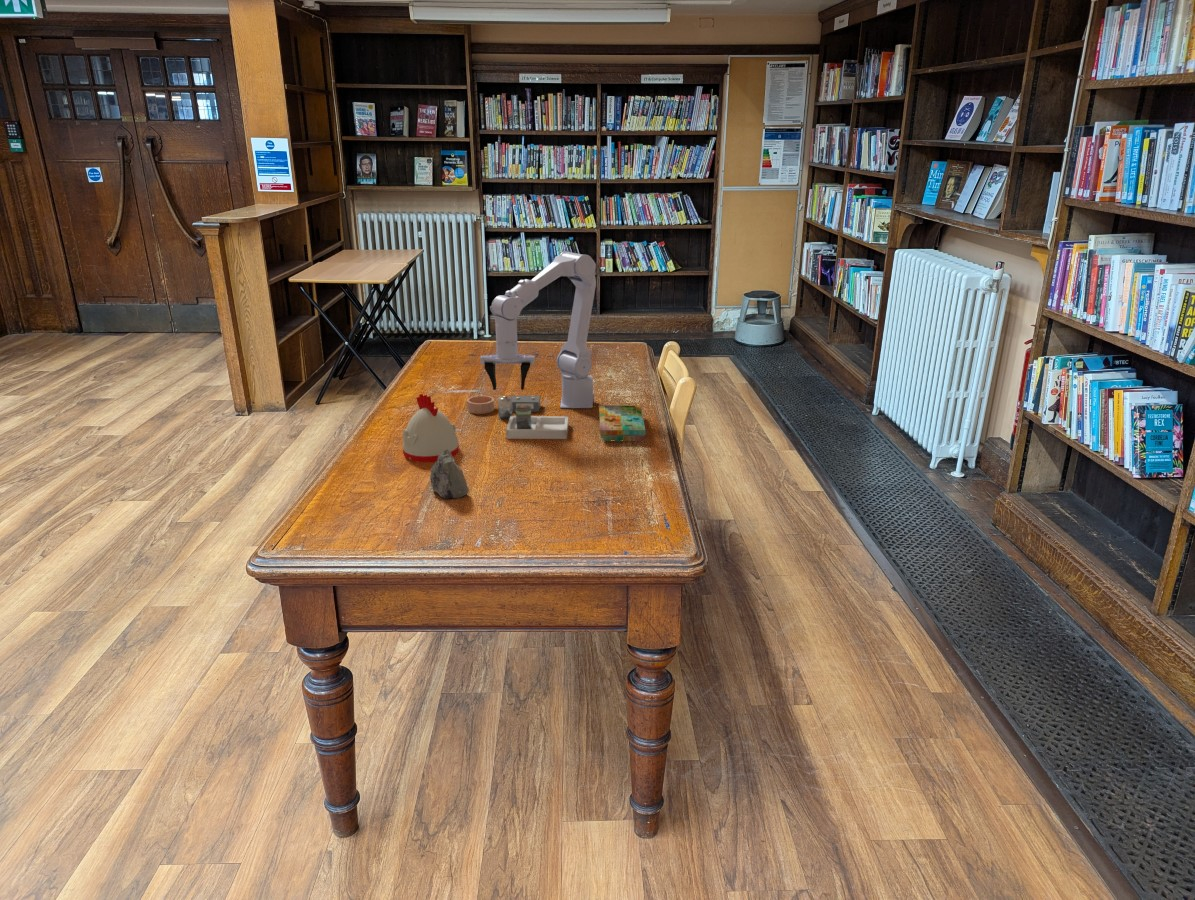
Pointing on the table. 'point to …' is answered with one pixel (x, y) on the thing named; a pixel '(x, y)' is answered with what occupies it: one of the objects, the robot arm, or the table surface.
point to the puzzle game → (621, 422)
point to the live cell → (523, 417)
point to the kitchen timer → (428, 433)
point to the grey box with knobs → (526, 402)
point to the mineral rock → (448, 477)
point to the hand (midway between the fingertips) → (508, 388)
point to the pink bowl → (480, 404)
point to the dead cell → (505, 407)
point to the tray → (539, 428)
